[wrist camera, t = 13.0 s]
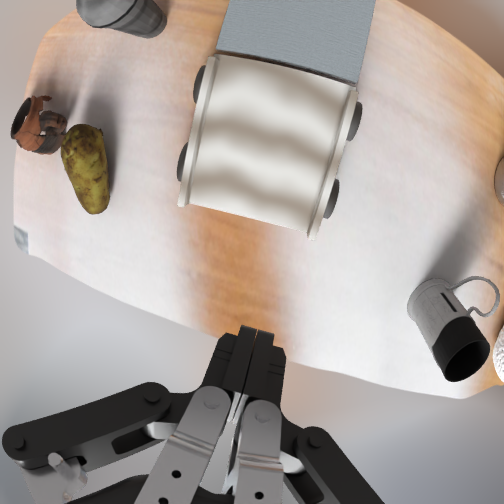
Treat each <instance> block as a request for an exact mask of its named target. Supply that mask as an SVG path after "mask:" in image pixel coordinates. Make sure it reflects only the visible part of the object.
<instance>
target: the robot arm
mask: <svg viewBox="0 0 504 504" xmlns="http://www.w3.org/2000/svg"><path fill="white" fill-rule="evenodd" d="M495 191H496V195H497V198H498V200H499V202H500V203H501V204H502V205H503V206H504V157H503V158H502V160H501V161H500V163H499V165H498V167H497V170H496V174H495ZM256 332H257V329H255V328H251V327H247V326H244V325H241V327H240V331H239V334H238V336H236V335H233V334H230V333H225V334H224V335H223V336H222V337H221V338H219V340H218V342H217V345H216V348H215V350H214V353H213V356H212V358H211V361H210V363H209V366H208V369H207V371H206V374H205V377H204V379H203V382H202V384H201V385H200V387H199V388H198V389H196V390H195V391H192V392H189V393H170V392H169V391H168V389H167V388H166V387H164V386H163V385H161V384H159V383H155V382H147V383H143V384H141V385H138V386H135V387H133V388H130V389H127V390H125V391H122V392H119V393H116V394H114V395H111V396H108V397H105V398H103V399H100V400H97V401H94V402H91V403H88V404H85V405H82V406H79V407H76V408H73V409H70V410H67V411H64V412H60V413H57V414H54V415H51V416H47V417H44V418H40V419H37V420H33V421H30V422H26V423H23V424H19V425H15V426H12V427H10V428H8V429H7V430H6V431H5V432H4V434H3V438H2V445H3V448H4V450H5V452H6V453H7V455H8V456H9V457H11V458H12V459H13V460H14V461H15V463H16V464H17V465H18V466H19V467H20V469H21V471H22V474H23V476H24V479H25V481H26V484H27V486H28V488H29V491H30V493H31V495H32V497H33V499H34V501H35V504H282V491H283V481H284V483H285V484H286V486H287V487H288V489H289V490H290V491H291V493H292V494H293V496H294V497H295V499H296V500H297V502H298V503H299V504H385V503H384V502H383V501H382V500H381V499H380V497H379V496H378V495H377V494H376V493H375V491H374V490H373V489H372V488H371V487H370V485H369V484H368V483H367V482H366V480H365V479H364V478H363V477H362V476H361V474H360V473H359V472H358V471H357V469H356V468H355V467H354V466H353V465H352V463H351V462H350V460H349V459H348V458H347V457H346V455H345V454H344V453H343V452H342V450H341V449H340V448H339V446H338V445H337V444H336V442H335V441H334V440H333V439H332V437H331V436H330V435H329V434H328V432H326V431H325V430H324V429H322V428H319V427H314V426H311V427H307V428H304V429H303V428H301V427H299V426H297V425H295V424H293V423H291V422H290V421H288V420H287V419H286V418H285V417H284V415H283V414H282V412H281V408H280V402H281V395H282V387H283V379H284V372H285V364H286V356H285V353H284V350H283V348H280V347H276V346H273V340H274V334H273V333H269V332H266V331H262V330H258V332H257V335H256ZM255 336H256V338H255ZM254 340H255V341H254ZM234 411H235V413H234ZM233 414H234V416H233ZM232 416H233V420H232V423H234V424H237V426H236V430H235V434H234V436H233V439H232V443H231V449H230V455H229V461H228V467H227V473H226V478H225V482H224V485H223V489H222V493H221V494H214V493H211V492H209V491H207V490H205V489H203V488H202V487H200V484H201V482H202V479H203V476H204V473H205V471H206V469H207V467H208V464H209V462H210V459H211V457H212V454H213V452H214V449H215V447H216V444H217V442H218V439H219V437H220V436H221V435H222V433H223V430H224V427H225V425H226V422H231V419H232ZM166 439H168V440H167V442H166V444H165V446H164V448H163V450H162V451H161V454H160V455H159V457H158V459H157V461H156V463H155V465H154V467H153V469H152V471H151V473H150V474H147V475H138V476H133V477H130V478H127V479H124V480H122V481H120V482H118V483H116V484H113V485H111V486H109V487H106V488H104V489H101V490H99V491H97V492H94V493H92V494H89V495H86V496H84V497H81V498H78V499H76V500H73V501H71V499H72V497H73V495H74V494H75V493H76V492H78V491H80V490H81V489H83V488H84V487H85V486H86V483H87V473H86V472H89V471H92V470H94V469H97V468H100V467H102V466H105V465H108V464H110V463H113V462H116V461H118V460H120V459H123V458H126V457H128V456H130V455H133V454H135V453H138V452H140V451H142V450H145V449H147V448H149V447H151V446H153V445H156V444H158V443H160V442H162V441H164V440H166Z"/></svg>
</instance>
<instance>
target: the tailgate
mask: <svg viewBox="0 0 504 504" xmlns="http://www.w3.org/2000/svg"><path fill="white" fill-rule="evenodd" d="M375 1H376V0H230V2H229V5H228V9H227V12H226V15H225V18H224V22H223V25H222V28H221V32H220V35H219V39H218V42H217V46H216V50H217V51H218V52H225V53H232V54H238V55H244V56H250V57H255V58H260V59H265V60H270V61H275V62H279V63H284V64H288V65H292V66H296V67H300V68H304V69H307V70H311V71H314V72H318V73H321V74H325V75H328V76H331V77H334V78H338V79H341V80H344V81H347V82H350V83H353V84H356V83H357V82H358V78H359V74H360V70H361V66H362V61H363V57H364V53H365V48H366V44H367V39H368V35H369V30H370V25H371V21H372V16H373V11H374V6H375Z"/></svg>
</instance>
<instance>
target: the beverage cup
mask: <svg viewBox="0 0 504 504" xmlns="http://www.w3.org/2000/svg"><path fill="white" fill-rule="evenodd" d="M76 6H77V12H78V13H79V15H80V17H81V18H82V20H84V21H85V22H86V23H87V24H88V25H90V26H92V27H93V28H110V29H114V30H118V31H122V32H125V33H128V34H132V35H135V36H139V37H143V38H153V37H155V36H157V35H159V34H160V33H161V32H162V31H163V30H164V28H165V26H166V23H167V19H166V16H165V15H164V13H163V12H162V10H161V9H160V8H159V7H158V6H157V5H156V3H155V2H154V1H153V0H77V1H76Z"/></svg>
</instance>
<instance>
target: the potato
mask: <svg viewBox="0 0 504 504" xmlns="http://www.w3.org/2000/svg"><path fill="white" fill-rule="evenodd" d="M102 136H103V132H102V130H101V129H100V130H98V129H97V128H94V127H92V126H89V125H86V124H77V125H74V126H73V127H71V128H70V129H69V131H68V132H67V133H66V135H65V136H64V138H63V141H62V145H61V158H62V161H63V164H64V167H65V170H66V172H67V174H68V177H69V179H70V181H71V183H72V185H73V187H74V190H75V193H76V196H77V198H78V200H79V202H80V203H81V205H82V207H83V208H84V209H85V210H86V211H87V212H88V213H89V214H99V213H102V212H103V211H104V210H105V209H106V208H107V206H108V203H109V200H110V195H109V191H108V189H109V176H108V163H107V158H106V153H105V147H104V141H103V138H102Z"/></svg>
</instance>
